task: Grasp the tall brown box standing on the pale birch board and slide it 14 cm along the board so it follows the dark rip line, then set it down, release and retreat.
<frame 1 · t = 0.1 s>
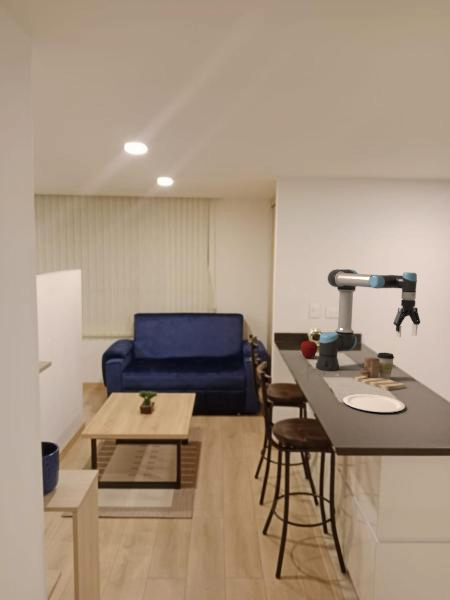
hand: (406, 336, 275), 28 cm above the table, fingers open, 13 cm apart
coffee cup: (384, 378, 289), on the table
apple: (308, 358, 343), on the table
board: (378, 383, 277), on the table
plate: (373, 405, 235), on the table
brown box: (371, 376, 285), point 2 cm above the table, touching board
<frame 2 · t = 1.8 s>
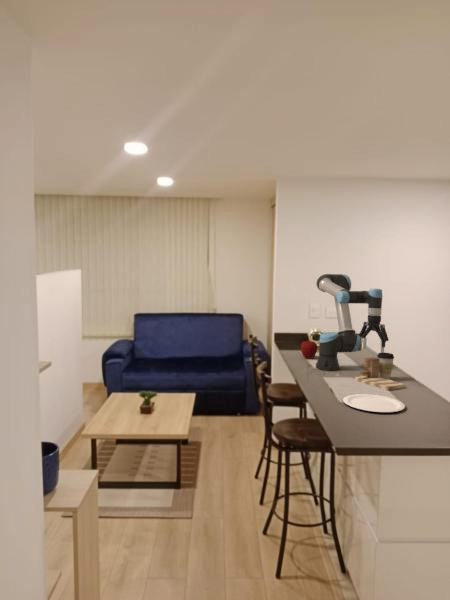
hand: (372, 350, 283), 18 cm above the table, fingers open, 13 cm apart
nothing on the table moved.
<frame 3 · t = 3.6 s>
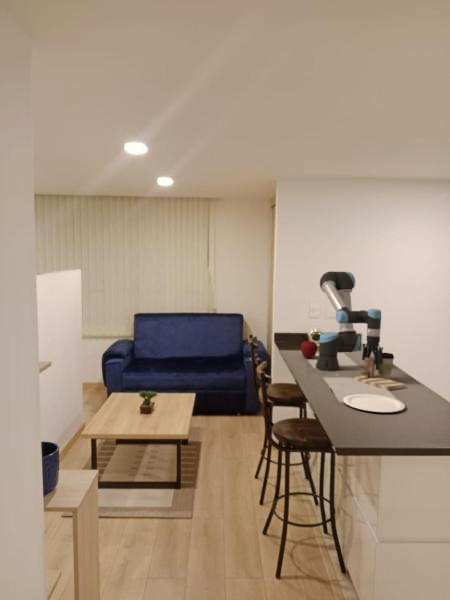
hand: (371, 373, 285), 4 cm above the table, fingers closed on brown box, 6 cm apart
brown box: (371, 376, 285), point 2 cm above the table, touching board, gripper
everything else where it was.
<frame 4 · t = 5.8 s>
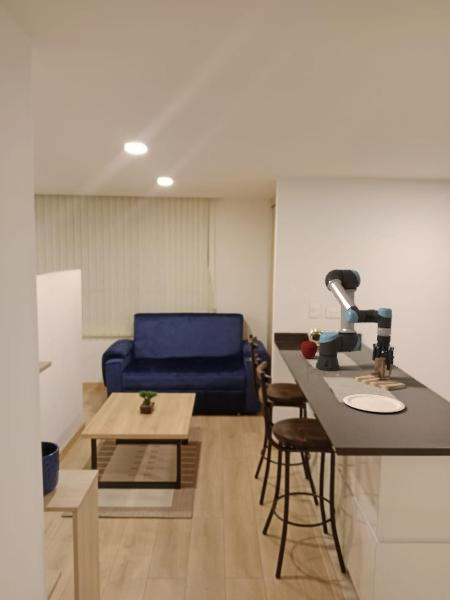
hand: (381, 374, 278), 5 cm above the table, fingers closed on brown box, 6 cm apart
brown box: (381, 377, 278), point 3 cm above the table, touching gripper
everything else where it was.
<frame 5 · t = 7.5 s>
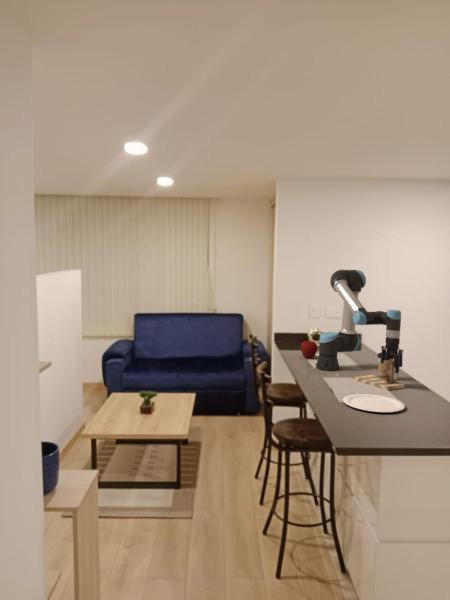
hand: (390, 377, 273), 5 cm above the table, fingers closed on brown box, 6 cm apart
brown box: (390, 380, 273), point 3 cm above the table, touching gripper
everything else where it was.
when the fingers open (4 cm above the table, at t = 8.1 s): brown box stays where it is, resting on board.
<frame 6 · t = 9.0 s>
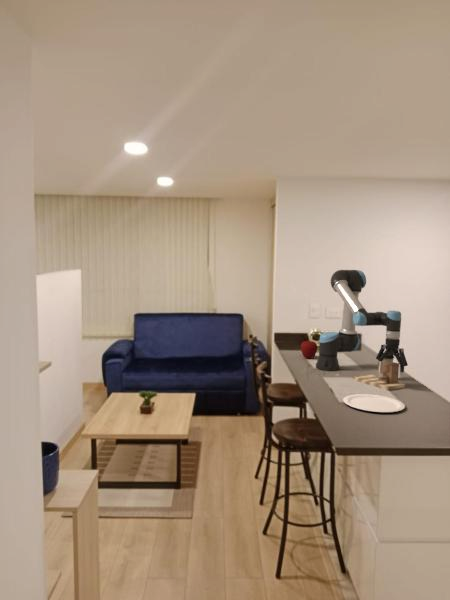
hand: (390, 374, 273), 6 cm above the table, fingers open, 13 cm apart
brown box: (390, 381, 273), point 2 cm above the table, touching board
everything else where it was.
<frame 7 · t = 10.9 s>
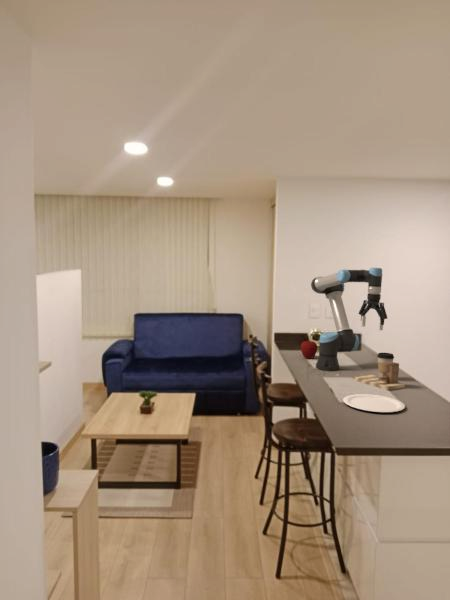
hand: (371, 328, 290), 30 cm above the table, fingers open, 13 cm apart
nothing on the table moved.
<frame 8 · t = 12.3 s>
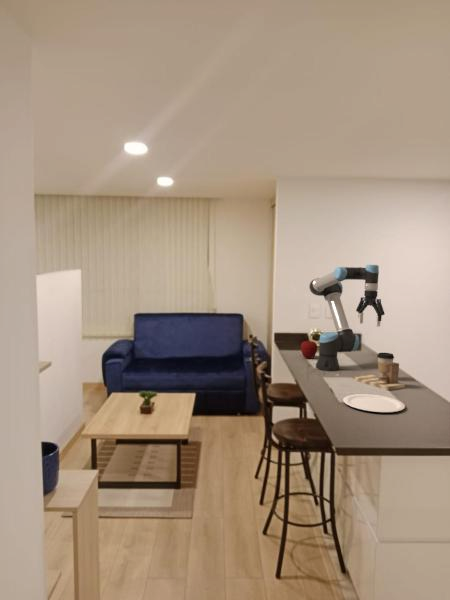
hand: (369, 324, 292), 32 cm above the table, fingers open, 13 cm apart
nothing on the table moved.
at the end: brown box inside the target area (1.2 cm from its centre), point 2.0 cm above the table; brown box tilted 0°; brown box moved 13.9 cm from its start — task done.
